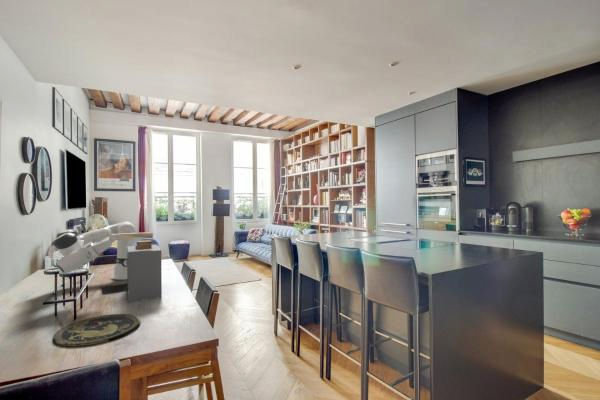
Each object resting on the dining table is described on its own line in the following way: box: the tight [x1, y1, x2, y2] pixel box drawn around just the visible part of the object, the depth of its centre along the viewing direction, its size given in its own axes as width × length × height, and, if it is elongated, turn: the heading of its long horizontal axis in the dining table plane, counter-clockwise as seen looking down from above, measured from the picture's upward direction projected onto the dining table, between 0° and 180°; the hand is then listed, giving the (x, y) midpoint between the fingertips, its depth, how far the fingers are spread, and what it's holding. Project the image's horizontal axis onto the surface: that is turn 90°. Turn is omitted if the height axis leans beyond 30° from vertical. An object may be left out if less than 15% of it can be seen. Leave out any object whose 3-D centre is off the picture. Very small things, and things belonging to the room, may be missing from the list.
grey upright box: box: [126, 244, 163, 303], centre depth 179 cm, size 28×16×26 cm, turn 30°
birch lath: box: [111, 231, 154, 241], centre depth 171 cm, size 4×20×3 cm, turn 120°
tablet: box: [100, 282, 128, 296], centre depth 193 cm, size 27×1×20 cm
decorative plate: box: [52, 313, 141, 348], centre depth 127 cm, size 30×2×30 cm
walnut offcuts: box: [135, 239, 153, 249], centre depth 180 cm, size 6×8×4 cm
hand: (119, 235), depth 168 cm, fingers closed on birch lath, 4 cm apart
